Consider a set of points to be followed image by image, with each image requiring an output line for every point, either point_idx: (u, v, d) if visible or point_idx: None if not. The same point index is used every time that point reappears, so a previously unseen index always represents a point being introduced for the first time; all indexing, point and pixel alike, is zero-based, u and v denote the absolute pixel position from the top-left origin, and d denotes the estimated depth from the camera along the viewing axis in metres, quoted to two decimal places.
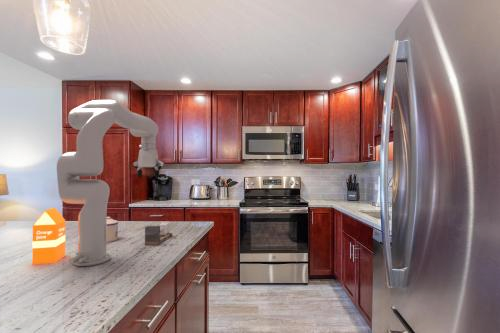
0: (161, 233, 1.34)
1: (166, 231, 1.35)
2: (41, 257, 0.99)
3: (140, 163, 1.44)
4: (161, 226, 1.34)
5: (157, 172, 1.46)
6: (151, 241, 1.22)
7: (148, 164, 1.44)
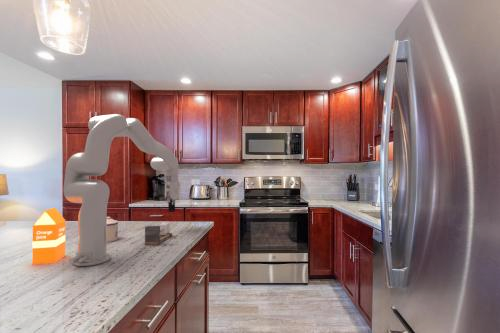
0: (161, 233, 1.34)
1: (166, 231, 1.35)
2: (41, 257, 0.99)
3: (174, 196, 1.43)
4: (161, 226, 1.34)
5: None
6: (151, 241, 1.22)
7: (177, 196, 1.48)
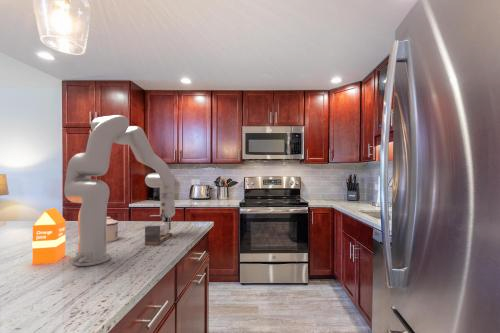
0: (161, 233, 1.34)
1: (166, 231, 1.35)
2: (41, 257, 0.99)
3: (169, 214, 1.37)
4: (161, 226, 1.34)
5: None
6: (151, 241, 1.22)
7: (173, 213, 1.42)
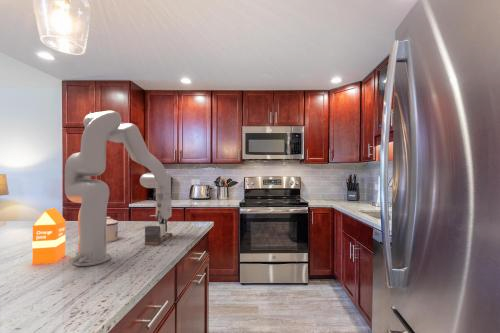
0: None
1: (162, 233, 1.30)
2: (41, 257, 0.99)
3: (165, 215, 1.32)
4: None
5: None
6: (151, 241, 1.22)
7: (169, 215, 1.37)
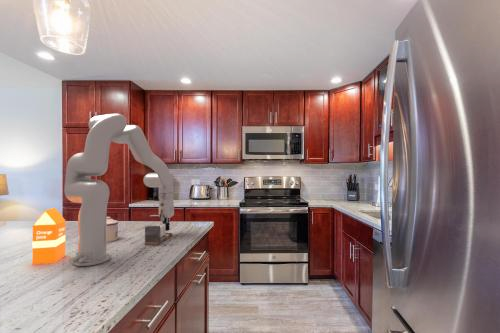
0: None
1: (162, 234, 1.30)
2: (41, 257, 0.99)
3: (168, 214, 1.36)
4: None
5: None
6: (151, 241, 1.22)
7: (172, 213, 1.40)
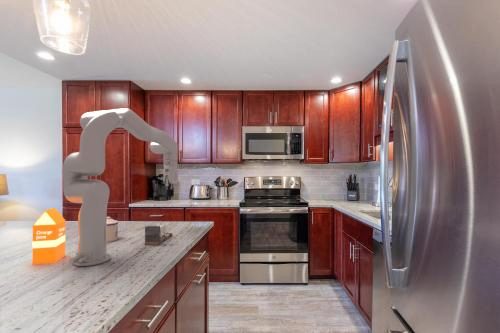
0: None
1: (162, 234, 1.30)
2: (41, 257, 0.99)
3: (172, 180, 1.42)
4: None
5: None
6: (151, 241, 1.22)
7: (176, 181, 1.46)
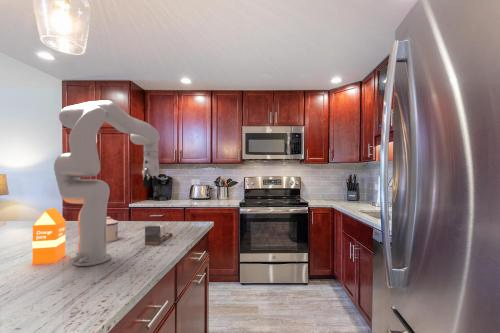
0: None
1: (162, 234, 1.30)
2: (41, 257, 0.99)
3: (152, 172, 1.38)
4: None
5: None
6: (151, 241, 1.22)
7: (156, 173, 1.42)
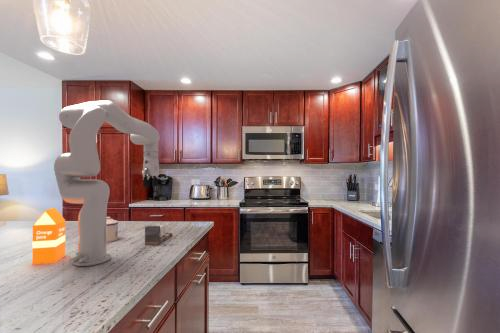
0: None
1: (162, 234, 1.30)
2: (41, 257, 0.99)
3: (152, 172, 1.38)
4: None
5: None
6: (151, 241, 1.22)
7: (156, 173, 1.42)
